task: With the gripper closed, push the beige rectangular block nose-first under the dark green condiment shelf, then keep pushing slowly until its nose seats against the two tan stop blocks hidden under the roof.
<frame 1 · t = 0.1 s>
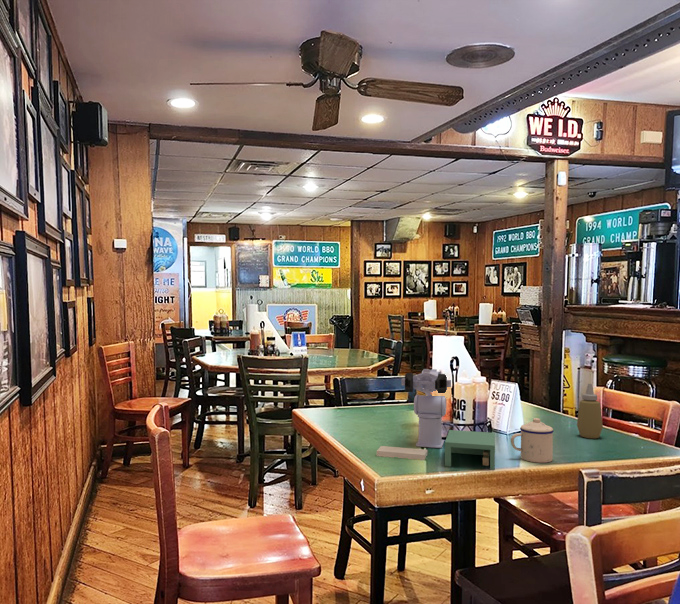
hand: (422, 384, 157), 22 cm above the table, tool horizontal, fingers open, 7 cm apart
squeeze bottle: (589, 437, 187), on the table
beige rectangular block: (402, 457, 162), on the table
shelf: (470, 460, 157), on the table
teacup with lid: (531, 459, 159), on the table
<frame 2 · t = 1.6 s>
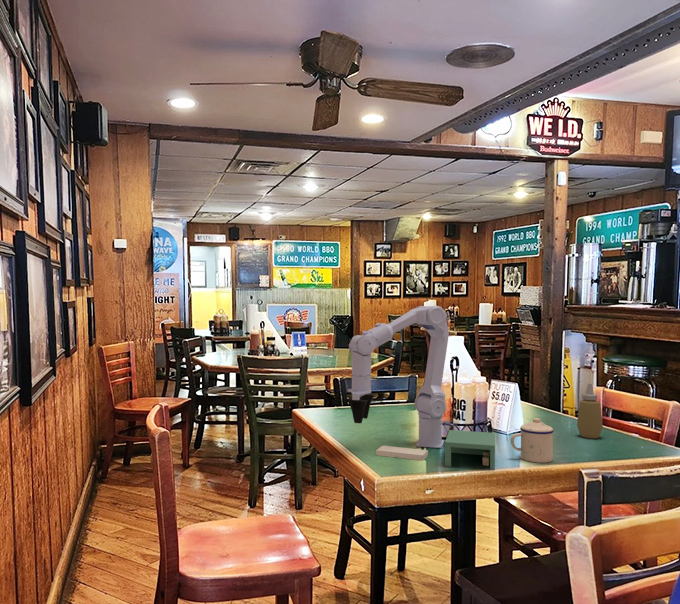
hand: (361, 420, 165), 9 cm above the table, tool pointing down, fingers open, 7 cm apart
nothing on the table moved.
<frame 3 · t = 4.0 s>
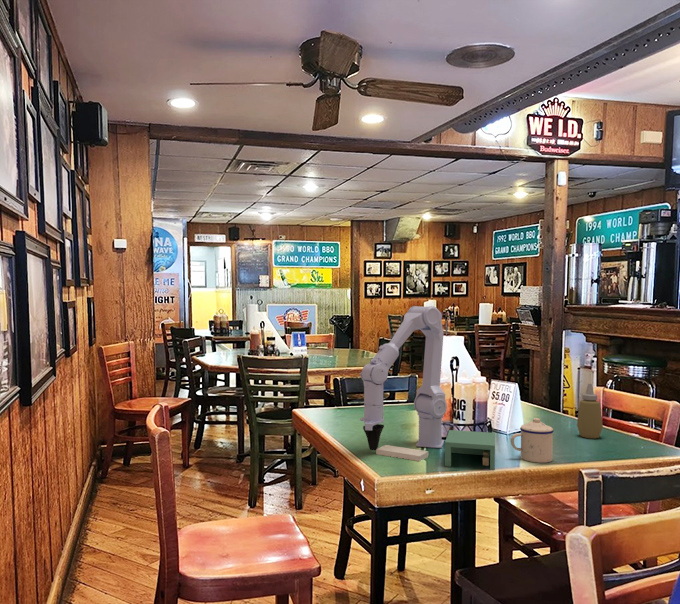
hand: (373, 449, 164), 1 cm above the table, tool pointing down, fingers closed
beige rectangular block: (402, 457, 162), on the table, touching gripper
everything else where it was.
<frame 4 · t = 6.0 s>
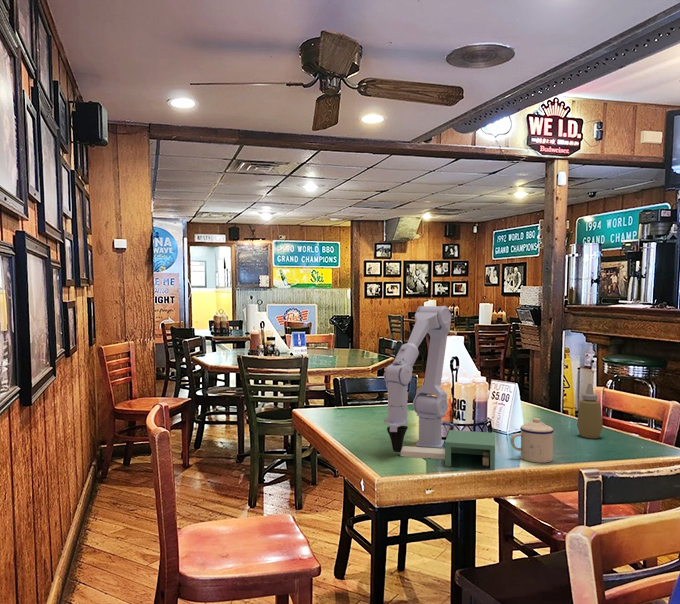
hand: (397, 451, 162), 1 cm above the table, tool pointing down, fingers closed
beige rectangular block: (425, 456, 162), on the table
everything else where it was.
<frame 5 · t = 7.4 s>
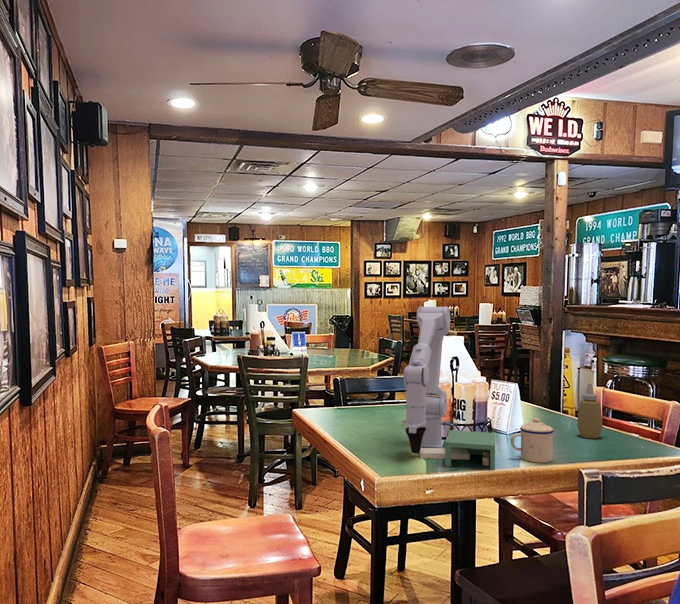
hand: (415, 452, 161), 1 cm above the table, tool pointing down, fingers closed
beige rectangular block: (443, 457, 162), on the table
everything else where it was.
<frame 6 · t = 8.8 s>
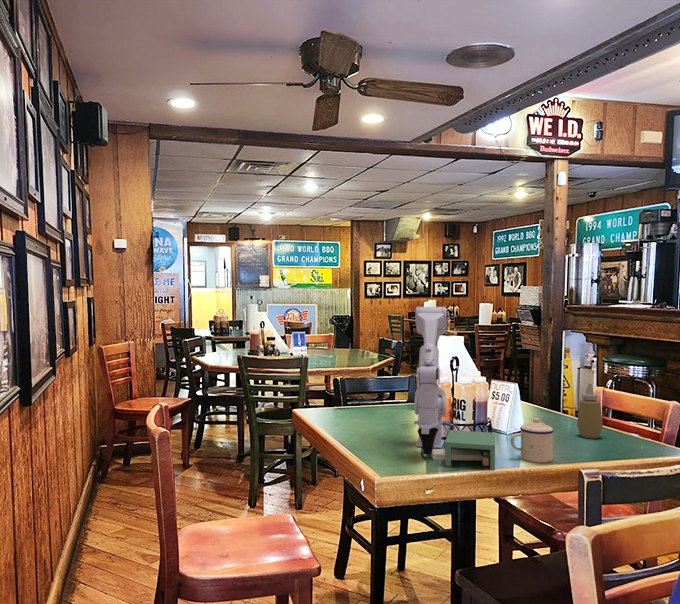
hand: (427, 453, 160), 1 cm above the table, tool pointing down, fingers closed
beige rectangular block: (456, 458, 160), on the table
everything else where it was.
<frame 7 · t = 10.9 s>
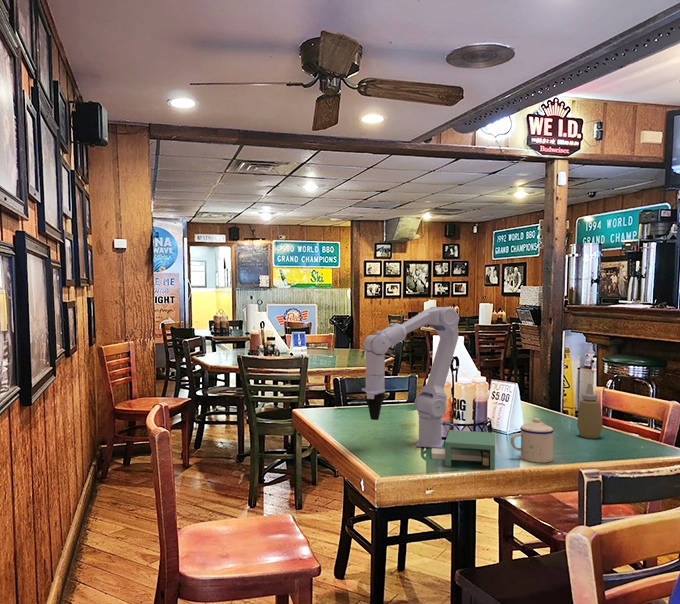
hand: (374, 419, 167), 9 cm above the table, tool pointing down, fingers closed
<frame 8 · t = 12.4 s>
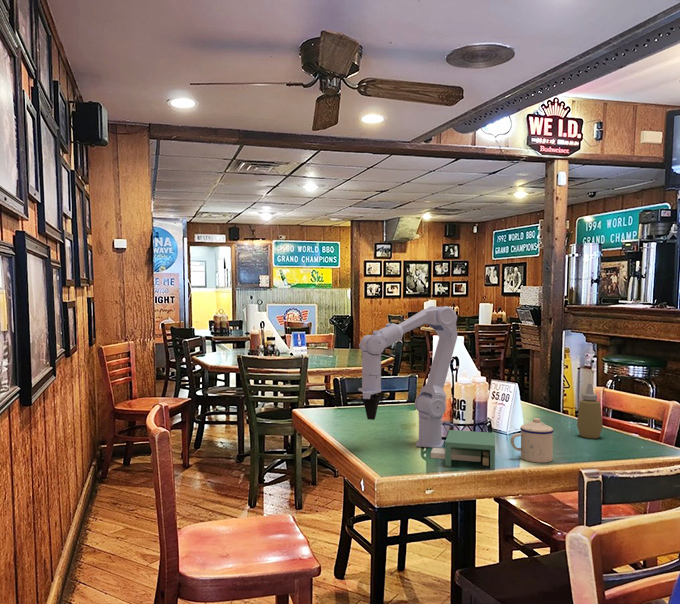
hand: (371, 419, 168), 9 cm above the table, tool pointing down, fingers closed
nothing on the table moved.
at the end: beige rectangular block inside the target area (2.1 cm from its centre), on the table; beige rectangular block tilted 0° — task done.
